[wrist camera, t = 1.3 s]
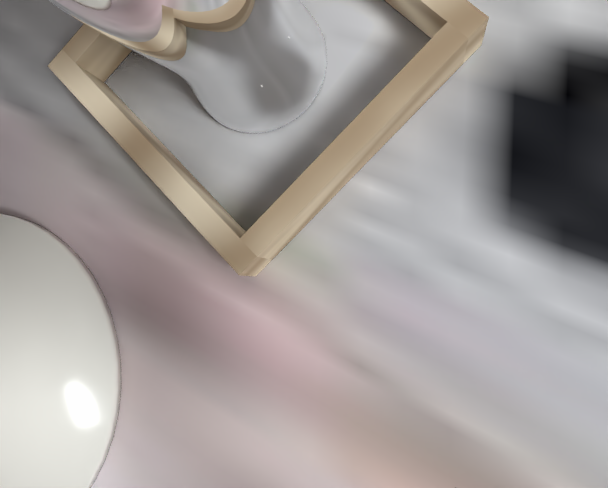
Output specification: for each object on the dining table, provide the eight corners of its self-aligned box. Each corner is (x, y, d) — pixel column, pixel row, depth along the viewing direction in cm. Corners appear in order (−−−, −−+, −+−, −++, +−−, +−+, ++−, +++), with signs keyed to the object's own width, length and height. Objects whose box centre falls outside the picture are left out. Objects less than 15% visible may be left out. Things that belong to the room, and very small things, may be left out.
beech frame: (481, 45, 19) (488, 17, 17) (255, 276, 20) (238, 275, 18) (263, -127, 22) (248, -168, 20) (78, 84, 23) (47, 66, 21)
